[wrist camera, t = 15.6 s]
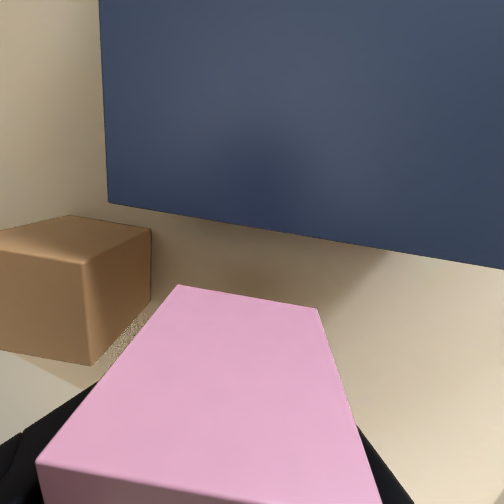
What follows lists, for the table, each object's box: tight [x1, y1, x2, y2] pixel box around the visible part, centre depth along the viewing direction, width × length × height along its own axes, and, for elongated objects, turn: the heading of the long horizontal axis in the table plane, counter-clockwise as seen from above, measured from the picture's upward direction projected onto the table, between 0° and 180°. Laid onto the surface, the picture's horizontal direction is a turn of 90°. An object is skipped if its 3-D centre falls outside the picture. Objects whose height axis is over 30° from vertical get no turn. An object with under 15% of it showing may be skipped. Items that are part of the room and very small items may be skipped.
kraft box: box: [0, 215, 151, 366], centre depth 11 cm, size 5×5×5 cm
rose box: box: [35, 284, 382, 504], centre depth 6 cm, size 5×5×5 cm
